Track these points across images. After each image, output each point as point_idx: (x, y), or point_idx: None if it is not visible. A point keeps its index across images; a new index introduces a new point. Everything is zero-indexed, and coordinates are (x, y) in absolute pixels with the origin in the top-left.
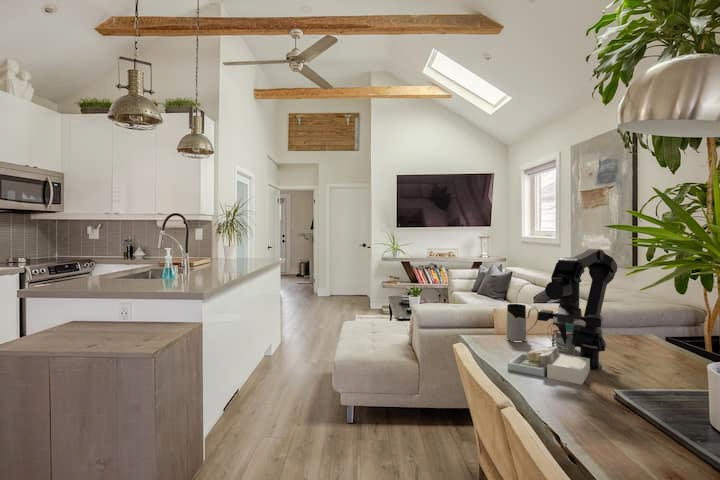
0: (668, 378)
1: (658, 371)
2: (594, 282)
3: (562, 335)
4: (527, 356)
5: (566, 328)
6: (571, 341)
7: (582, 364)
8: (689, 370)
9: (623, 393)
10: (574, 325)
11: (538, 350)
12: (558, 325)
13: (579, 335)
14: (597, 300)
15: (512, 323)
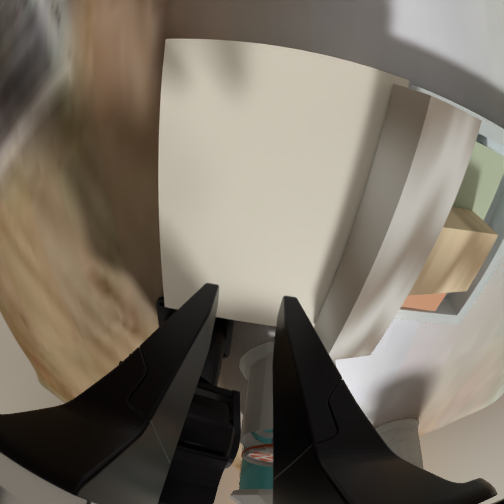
0: (15, 281)
1: (47, 324)
2: None
3: (322, 364)
4: (438, 308)
5: (271, 474)
6: (253, 420)
7: (175, 174)
8: (25, 341)
9: (47, 50)
10: (66, 491)
11: (438, 291)
12: (414, 489)
13: (199, 431)
14: None
15: (414, 463)
